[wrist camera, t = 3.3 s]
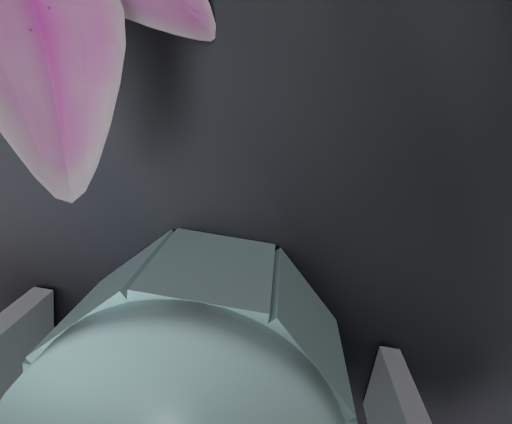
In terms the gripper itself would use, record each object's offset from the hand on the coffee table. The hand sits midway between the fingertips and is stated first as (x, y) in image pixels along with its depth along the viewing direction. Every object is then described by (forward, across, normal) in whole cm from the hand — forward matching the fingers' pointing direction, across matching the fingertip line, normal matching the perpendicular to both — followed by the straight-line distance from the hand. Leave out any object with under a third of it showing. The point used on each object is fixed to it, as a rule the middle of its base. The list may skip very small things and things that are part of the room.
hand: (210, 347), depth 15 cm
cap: (0, 0, 0) cm, 0 cm away
